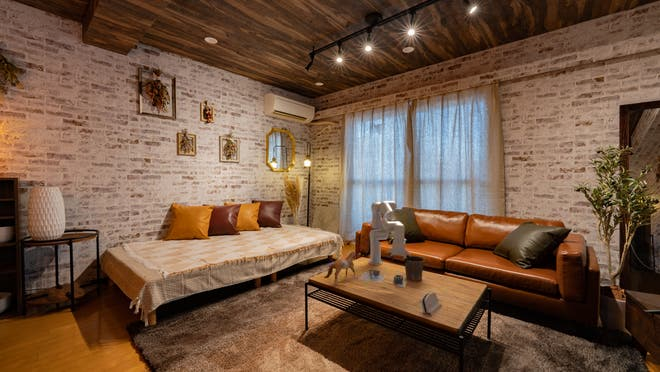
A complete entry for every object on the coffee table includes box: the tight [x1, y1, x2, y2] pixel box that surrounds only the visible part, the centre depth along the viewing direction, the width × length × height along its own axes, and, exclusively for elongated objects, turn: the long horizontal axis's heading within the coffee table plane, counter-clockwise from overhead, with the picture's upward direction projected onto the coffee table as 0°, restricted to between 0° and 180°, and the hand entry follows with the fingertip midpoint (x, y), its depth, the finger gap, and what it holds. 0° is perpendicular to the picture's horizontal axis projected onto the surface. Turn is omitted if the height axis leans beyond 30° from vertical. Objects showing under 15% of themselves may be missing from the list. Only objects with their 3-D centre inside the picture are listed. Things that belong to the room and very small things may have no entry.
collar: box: [393, 274, 404, 285], centre depth 206 cm, size 6×6×5 cm
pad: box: [394, 280, 408, 289], centre depth 207 cm, size 11×11×1 cm
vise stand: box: [357, 269, 386, 284], centre depth 216 cm, size 18×18×6 cm
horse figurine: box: [323, 251, 357, 286], centre depth 211 cm, size 31×8×21 cm, turn 126°
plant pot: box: [403, 255, 425, 282], centre depth 217 cm, size 16×16×16 cm
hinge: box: [420, 292, 443, 316], centre depth 168 cm, size 17×5×10 cm, turn 137°
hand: (398, 262), depth 207 cm, fingers open, 9 cm apart
